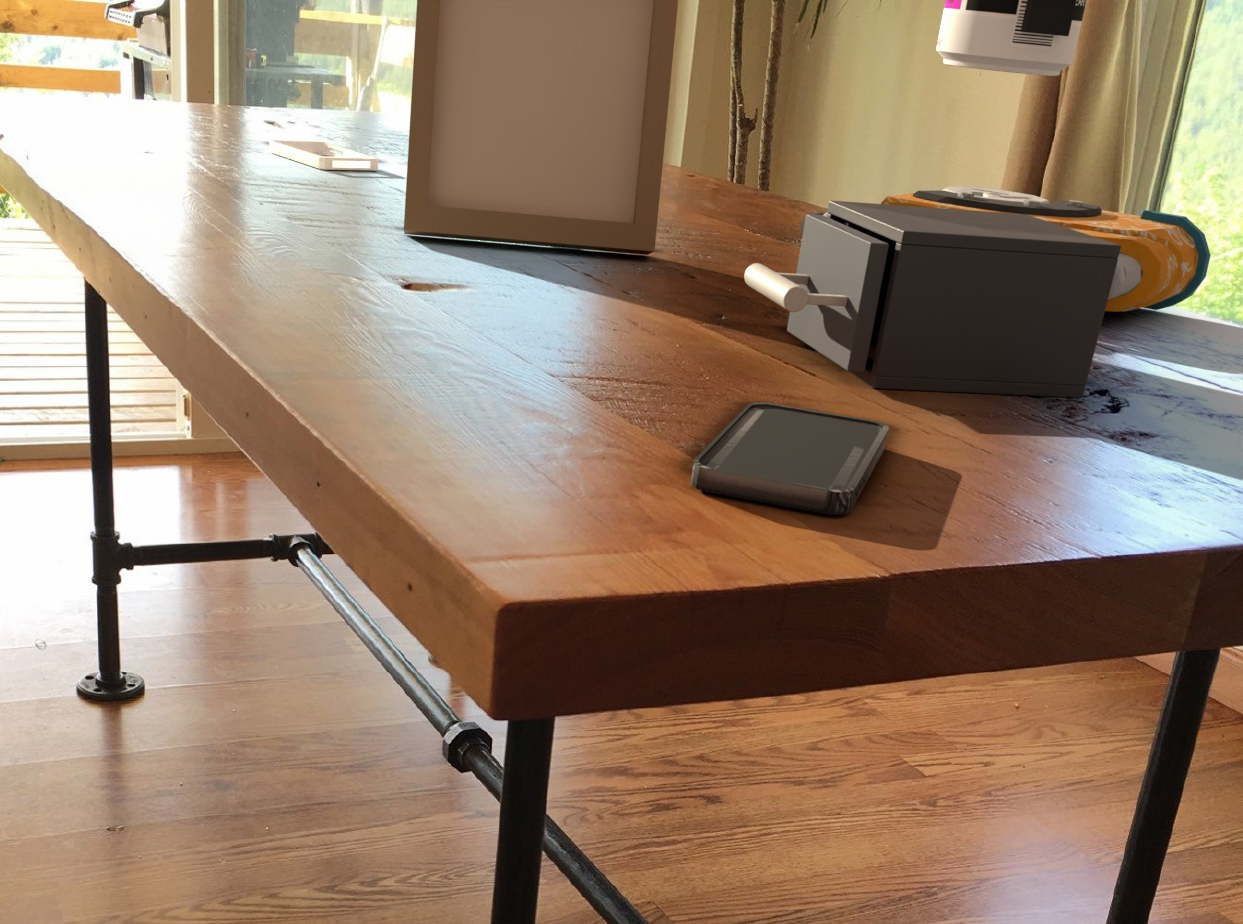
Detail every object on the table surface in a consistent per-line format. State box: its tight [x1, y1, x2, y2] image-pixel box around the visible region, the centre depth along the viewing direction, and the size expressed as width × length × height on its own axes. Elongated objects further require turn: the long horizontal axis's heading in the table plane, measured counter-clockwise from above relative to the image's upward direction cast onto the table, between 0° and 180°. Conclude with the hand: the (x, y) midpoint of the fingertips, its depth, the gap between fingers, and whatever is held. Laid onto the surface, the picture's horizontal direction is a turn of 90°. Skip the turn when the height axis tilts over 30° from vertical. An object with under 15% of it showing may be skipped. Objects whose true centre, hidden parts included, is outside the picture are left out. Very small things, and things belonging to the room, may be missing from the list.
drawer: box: [743, 213, 898, 372], centre depth 100 cm, size 18×11×8 cm, turn 100°
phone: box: [689, 401, 890, 516], centre depth 78 cm, size 8×1×15 cm
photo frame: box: [403, 0, 679, 256], centre depth 133 cm, size 15×22×25 cm
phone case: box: [268, 139, 379, 172], centre depth 177 cm, size 7×1×15 cm
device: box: [799, 185, 1211, 312], centre depth 130 cm, size 23×8×30 cm
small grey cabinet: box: [804, 200, 1121, 399], centre depth 101 cm, size 15×13×10 cm
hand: (1009, 29), depth 93 cm, fingers closed on supplement can, 8 cm apart
